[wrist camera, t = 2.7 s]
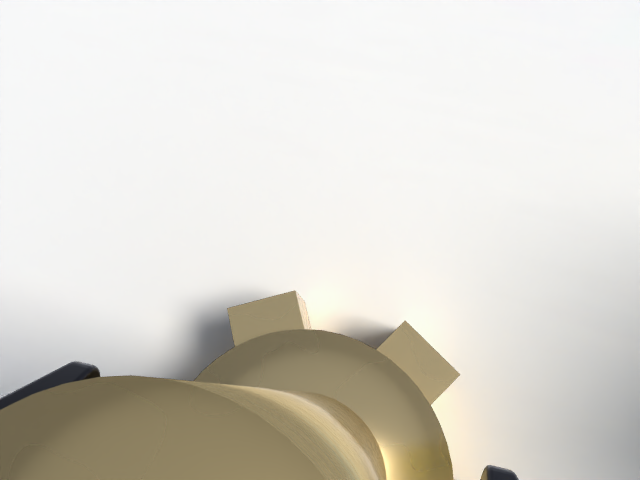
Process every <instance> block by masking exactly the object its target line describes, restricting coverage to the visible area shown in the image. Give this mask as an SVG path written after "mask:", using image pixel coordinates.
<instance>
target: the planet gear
mask: <svg viewBox="0 0 640 480" xmlns="http://www.w3.org/2000/svg"><path fill="white" fill-rule="evenodd" d="M227 310H228V315H229V320H230V325H231V330H232V335H233V340H234V345H235V347H234V348H232V349H231V350H229V351H227V352H226V353H224V354H223V355H221V356H220V357H218V358H217V359H216V360H215V361H213V362H212V363H211V364H210V365H209V366H208V367H206V368H205V369H204V370H203V371H202V372H201V373H200V374H199V375H198V377H197V378H196V379H195V380H194V381H185V380H175V379H165V378H154V377H143V376H131V375H130V376H110V377H96V378H91V379H85V380H80V381H75V382H70V383H65V384H62V385H59V386H56V387H53V388H50V389H47V390H44V391H41V392H38V393H35V394H32V395H30V396H28V397H26V398H24V399H22V400H20V401H17V402H15V403H13V404H11V405H9V406H7V407H5V408H3V409H1V410H0V480H455V479H453V470H452V463H451V459H450V454H449V450H448V445H447V442H446V439H445V436H444V434H443V431H442V428H441V425H440V423H439V421H438V419H437V417H436V415H435V413H434V411H433V409H432V407H431V404H432V403H433V402H434V401H435V400H436V399H437V398H438V397H439V396H440V395H441V394H442V393H443V392H444V391H445V390H446V389H447V388H448V387H449V386H450V385H451V384H452V383H453V382H454V381H455V379H456V378H457V377H458V376H459V375H460V374H459V373H458V372H457V371H456V370H455V369H454V368H453V367H452V366H451V365H450V364H449V363H448V362H447V361H446V360H445V359H444V358H443V357H442V356H441V355H440V354H439V353H438V352H437V351H436V350H435V349H434V348H433V347H432V346H431V345H430V344H429V343H428V342H427V341H426V340H425V339H424V338H423V337H422V336H421V335H420V334H419V333H417V332H416V331H415V330H414V329H413V328H412V327H411V326H410V325H409V324H408V323H407V322H406V321H404V322H403V323H402V324H401V325H400V326H399V327H398V328H397V329H396V330H395V331H394V332H393V333H392V334H391V335H390V336H389V337H388V338H387V339H386V340H385V341H384V342H383V343H382V344H381V345H380V346H379V347H378V348H377V349H374V348H372V347H370V346H368V345H366V344H364V343H362V342H360V341H358V340H355V339H353V338H350V337H347V336H344V335H341V334H337V333H332V332H327V331H323V330H311V327H310V323H309V319H308V314H307V310H306V306H305V302H304V301H303V299H302V298H301V297H300V296H299V294H298V293H297V292H296V291H291V292H288V293H284V294H280V295H276V296H272V297H268V298H265V299H261V300H257V301H253V302H249V303H246V304H242V305H238V306H234V307H230V308H227Z"/></svg>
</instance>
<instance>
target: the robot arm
mask: <svg viewBox="0 0 640 480" xmlns="http://www.w3.org/2000/svg"><path fill="white" fill-rule="evenodd" d="M96 377H100V372H99V369H98V368H97V367H96V366H94V365H90V364H86V363H82V362H77V361H76V362H71V363H69V364H67V365H65V366H63V367H61V368H59V369H57V370H55V371H53V372H51V373H49V374H47V375H45V376H43V377H42V378H40V379H38V380H36V381H34V382H32V383H30V384H28V385H26V386H24V387H22V388H20V389H18V390H16V391H14V392H12V393H10V394H9V395H7V396H5V397H3V398H1V399H0V410H1V409H3V408H5V407H7V406H9V405H11V404H13V403H15V402H17V401H20V400H22V399H24V398H26V397H28V396H30V395H32V394H35V393H38V392H41V391H44V390H47V389H50V388H53V387H56V386H59V385H62V384H65V383H70V382H75V381H80V380H85V379H91V378H96ZM480 480H518V478H517V476H516V474H515V473H514V472H513V471H511V470H508V469H504V468H500V467H496V466H492V465H488V466H486V467H485V469H484V471H483V473H482V476H481V479H480Z"/></svg>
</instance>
